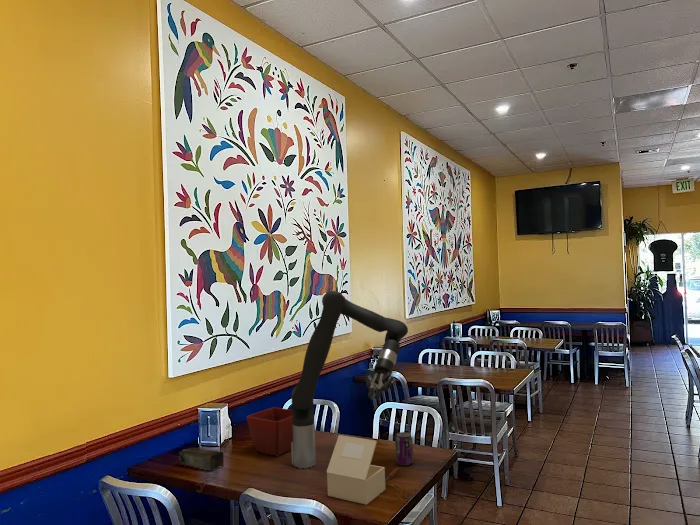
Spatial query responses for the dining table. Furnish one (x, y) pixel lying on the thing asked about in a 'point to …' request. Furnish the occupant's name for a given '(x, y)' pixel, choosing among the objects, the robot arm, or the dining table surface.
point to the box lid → (352, 457)
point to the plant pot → (271, 430)
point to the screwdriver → (392, 474)
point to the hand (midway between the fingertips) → (372, 398)
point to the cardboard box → (357, 486)
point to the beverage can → (404, 448)
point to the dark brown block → (201, 458)
